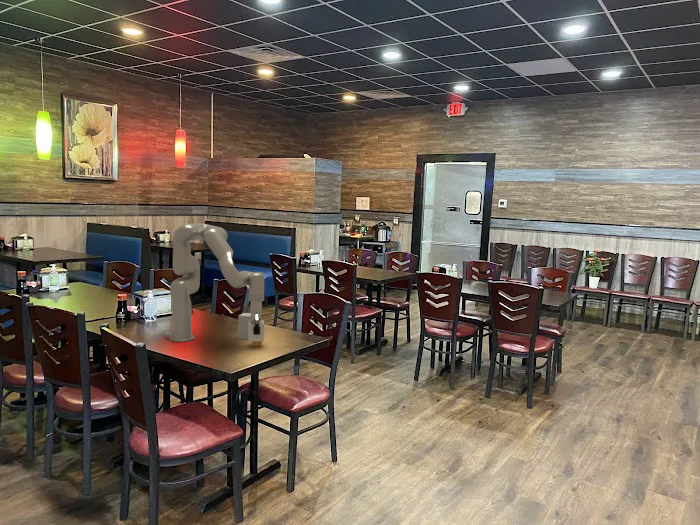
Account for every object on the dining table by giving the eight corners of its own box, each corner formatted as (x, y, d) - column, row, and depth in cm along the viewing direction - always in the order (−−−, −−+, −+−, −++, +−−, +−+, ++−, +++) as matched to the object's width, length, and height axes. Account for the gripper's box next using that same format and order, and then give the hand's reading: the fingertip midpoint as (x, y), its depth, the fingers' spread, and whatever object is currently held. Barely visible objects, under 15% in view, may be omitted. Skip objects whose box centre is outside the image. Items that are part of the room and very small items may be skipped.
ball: (258, 349, 271) (250, 344, 269) (258, 346, 275) (249, 341, 274) (264, 340, 271) (255, 335, 270) (263, 338, 276) (255, 333, 274)
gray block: (248, 341, 267) (248, 323, 266) (247, 337, 275) (248, 320, 274) (264, 341, 269) (264, 323, 268) (263, 337, 276) (263, 320, 275)
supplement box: (250, 340, 284) (251, 316, 282) (237, 339, 285) (237, 315, 284) (256, 336, 291) (256, 313, 290) (243, 335, 292) (243, 312, 291)
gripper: (248, 294, 277) (248, 328, 279) (249, 300, 260) (249, 337, 262) (263, 294, 279) (263, 328, 281) (265, 300, 262) (264, 336, 264)
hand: (256, 332), depth 272 cm, fingers closed on gray block, 7 cm apart
